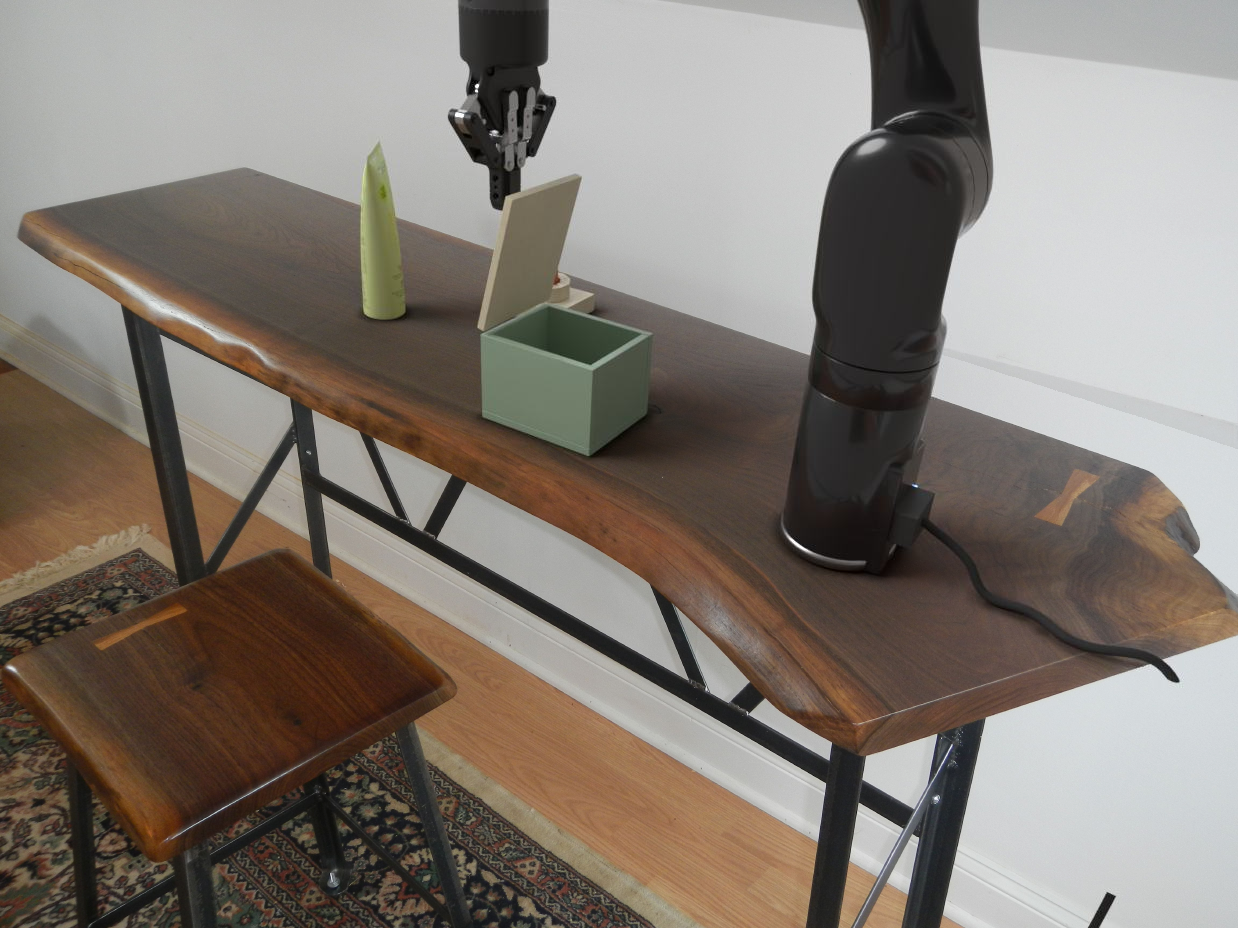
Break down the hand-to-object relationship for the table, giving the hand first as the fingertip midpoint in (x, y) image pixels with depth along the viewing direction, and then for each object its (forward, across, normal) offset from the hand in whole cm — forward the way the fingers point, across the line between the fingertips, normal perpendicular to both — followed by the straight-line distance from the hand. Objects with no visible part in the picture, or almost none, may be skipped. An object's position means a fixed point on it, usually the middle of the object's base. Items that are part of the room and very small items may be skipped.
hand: (505, 208), depth 88 cm
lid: (+4, 0, -3) cm, 5 cm away
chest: (+19, 0, -7) cm, 21 cm away
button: (+16, +21, +11) cm, 28 cm away
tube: (+19, +8, +25) cm, 32 cm away
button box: (+19, +21, +11) cm, 30 cm away
